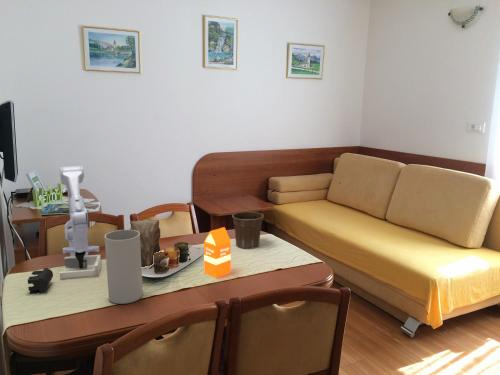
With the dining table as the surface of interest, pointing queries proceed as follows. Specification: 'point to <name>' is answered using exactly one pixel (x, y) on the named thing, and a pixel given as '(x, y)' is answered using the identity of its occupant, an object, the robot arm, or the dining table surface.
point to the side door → (74, 263)
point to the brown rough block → (147, 239)
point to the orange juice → (217, 253)
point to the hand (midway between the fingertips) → (82, 267)
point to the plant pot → (247, 229)
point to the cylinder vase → (123, 266)
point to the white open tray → (90, 271)
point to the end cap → (40, 281)
